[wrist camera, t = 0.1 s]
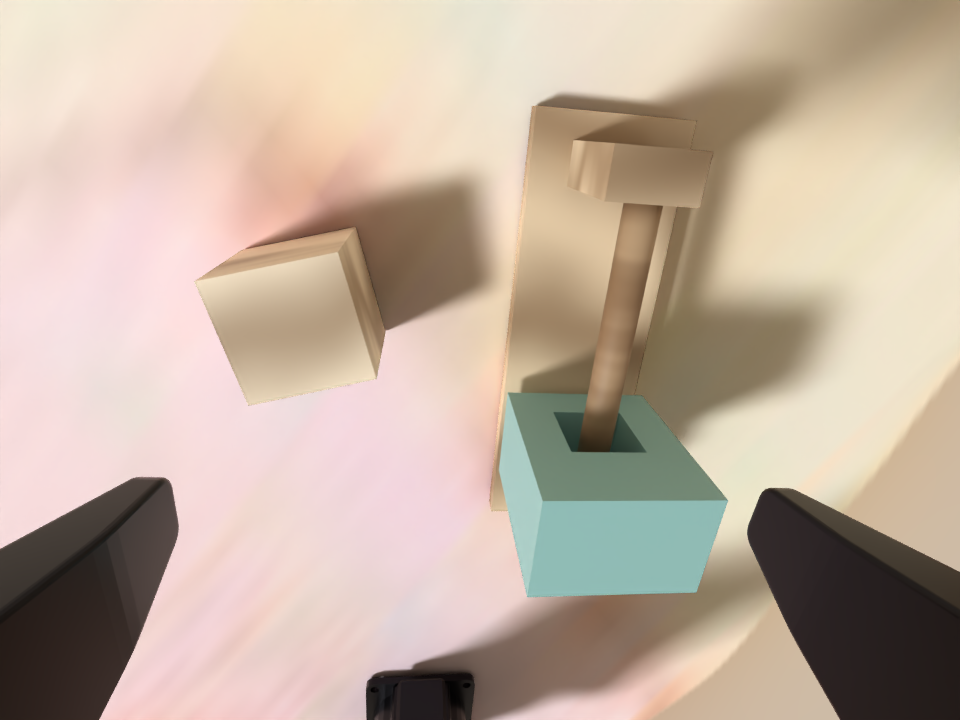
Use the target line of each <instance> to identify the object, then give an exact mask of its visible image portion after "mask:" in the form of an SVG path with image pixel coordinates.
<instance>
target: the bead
mask: <svg viewBox="0 0 960 720" xmlns="http://www.w3.org/2000/svg"><path fill="white" fill-rule="evenodd" d="M587 396H588V394H556V393H513V392H508V394H507V403H506V412H505V421H504V429H503V438H502V447H501V456H500V464H499V473H500V477H501V482H502V486H503V491H504V495H505V500H506V504H507V508H508V513H509V517H510V522H511V526H512V531H513V535H514V540H515V544H516V549H517V553H518V558H519V562H520V567H521V571H522V576H523V580H524V585H525V589H526V594H527V597H551V596H587V595H623V594H659V593H695V592H697V589H698V586H699V583H700V580H701V578H702V575H703V572H704V569H705V566H706V563H707V560H708V557H709V554H710V551H711V549H712V546H713V543H714V540H715V537H716V534H717V531H718V528H719V525H720V522H721V520H722V517H723V514H724V511H725V508H726V505H727V502H728V500H727V499H726V497H725V496H724V495H723V494H722V492H721V491H720V490H719V489H718V488H717V486H716V485H715V484H714V483H713V481H712V480H711V479H710V478H709V477H708V475H707V474H706V473H705V472H704V471H703V469H702V468H701V467H700V466H699V464H698V463H697V462H696V461H695V460H694V458H693V457H692V456H691V455H690V453H689V452H688V451H687V450H686V449H685V447H684V446H683V445H682V444H681V443H680V441H679V440H678V439H677V438H676V436H675V435H674V434H673V433H672V432H671V430H670V429H669V428H668V427H667V425H666V424H665V423H664V422H663V421H662V419H661V418H660V417H659V416H658V414H657V413H656V412H655V411H654V410H653V408H652V407H651V406H650V405H649V404H648V402H647V401H646V400H645V399H644V397H643V396H642V395H622V398H621V402H620V407H619V412H618V416H617V421H616V425H615V430H614V435H613V439H612V444H611V448H610V452H577V450H578V444H579V439H580V434H581V428H582V423H583V418H584V412H585V407H586V402H587Z"/></svg>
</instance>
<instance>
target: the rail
mask: <svg viewBox="0 0 960 720" xmlns="http://www.w3.org/2000/svg"><path fill="white" fill-rule="evenodd" d="M696 123H697V121H694V120H684V119H673V118H663V117H652V116H642V115H631V114H621V113H610V112H600V111H589V110H579V109H568V108H558V107H547V106H537V105H536V106H532V111H531V120H530V130H529V139H528V148H527V157H526V167H525V176H524V185H523V194H522V204H521V213H520V222H519V231H518V241H517V250H516V259H515V268H514V277H513V287H512V296H511V305H510V314H509V324H508V333H507V342H506V351H505V361H504V370H503V379H502V388H501V398H500V407H499V416H498V425H497V434H496V444H495V453H494V462H493V471H492V481H491V490H490V499H489V501H490V507H491V511H508V508H507V504H506V500H505V495H504V491H503V486H502V482H501V477H500V473H499V464H500V456H501V447H502V438H503V429H504V421H505V412H506V403H507V394H508V392H513V393H556V394H588V396H587V402H586V407H585V412H584V418H583V423H582V428H581V434H580V439H579V444H578V450H577V452H610V448H611V444H612V439H613V435H614V430H615V425H616V421H617V416H618V412H619V407H620V402H621V398H622V395H634V394H635V390H636V386H637V381H638V377H639V372H640V368H641V364H642V359H643V355H644V350H645V346H646V342H647V337H648V333H649V329H650V324H651V320H652V315H653V311H654V307H655V302H656V298H657V293H658V289H659V285H660V280H661V276H662V272H663V267H664V263H665V258H666V254H667V250H668V245H669V241H670V236H671V232H672V228H673V223H674V219H675V215H676V210H677V207H688V208H700V205H701V200H702V196H703V192H704V188H705V184H706V180H707V176H708V172H709V168H710V164H711V160H712V156H713V152H711V151H699V150H690V149H691V144H692V140H693V136H694V131H695V127H696Z"/></svg>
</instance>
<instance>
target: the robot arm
mask: <svg viewBox="0 0 960 720" xmlns="http://www.w3.org/2000/svg"><path fill="white" fill-rule="evenodd" d="M178 530H179V525H178V518H177V512H176V506H175V501H174V495H173V489H172V486H171V483H170V481H169V480H167V479H166V478H163V477H136V478H133V479H130V480H128V481H127V482H125V483H123V484H121V485H119V486H117V487H115V488H113V489H112V490H110V491H108V492H106V493H104V494H102V495H100V496H99V497H97V498H95V499H93V500H91V501H89V502H87V503H85V504H84V505H82V506H80V507H78V508H76V509H74V510H72V511H70V512H69V513H67V514H65V515H63V516H61V517H59V518H57V519H55V520H54V521H52V522H50V523H48V524H46V525H44V526H42V527H40V528H39V529H37V530H35V531H33V532H31V533H29V534H27V535H25V536H24V537H22V538H20V539H18V540H16V541H14V542H12V543H10V544H9V545H7V546H5V547H3V548H1V549H0V720H99V719H100V717H101V715H102V713H103V711H104V709H105V707H106V705H107V703H108V701H109V699H110V697H111V695H112V693H113V691H114V689H115V687H116V685H117V683H118V681H119V680H120V678H121V676H122V674H123V672H124V670H125V668H126V666H127V663H128V661H129V659H130V657H131V655H132V653H133V651H134V649H135V646H136V644H137V641H138V639H139V637H140V634H141V632H142V629H143V627H144V624H145V621H146V619H147V616H148V614H149V611H150V608H151V606H152V603H153V601H154V598H155V595H156V593H157V590H158V588H159V585H160V582H161V580H162V577H163V575H164V572H165V569H166V567H167V564H168V562H169V559H170V556H171V554H172V551H173V549H174V546H175V543H176V540H177V536H178ZM747 535H748V540H749V543H750V546H751V548H752V550H753V552H754V554H755V557H756V559H757V561H758V563H759V565H760V567H761V570H762V572H763V574H764V576H765V578H766V580H767V583H768V585H769V587H770V589H771V591H772V593H773V596H774V598H775V600H776V602H777V604H778V607H779V609H780V611H781V613H782V615H783V617H784V619H785V622H786V623H787V626H788V628H789V629H790V632H791V634H792V636H793V637H794V639H795V641H796V643H797V645H798V647H799V648H800V650H801V652H802V654H803V656H804V657H805V659H806V661H807V663H808V664H809V666H810V668H811V670H812V671H813V673H814V675H815V677H816V678H817V680H818V682H819V683H820V685H821V687H822V689H823V691H824V692H825V694H826V696H827V698H828V699H829V701H830V703H831V705H832V706H833V708H834V710H835V712H836V713H837V715H838V717H839V719H840V720H960V572H959V571H957V570H954V569H953V568H951V567H949V566H947V565H945V564H943V563H940V562H939V561H937V560H935V559H933V558H931V557H929V556H926V555H925V554H923V553H920V552H919V551H916V550H915V549H913V548H911V547H908V546H907V545H904V544H903V543H901V542H898V541H897V540H894V539H892V538H890V537H888V536H886V535H884V534H882V533H880V532H878V531H876V530H874V529H872V528H870V527H868V526H866V525H864V524H862V523H860V522H858V521H856V520H854V519H852V518H850V517H848V516H846V515H844V514H842V513H840V512H838V511H836V510H834V509H832V508H830V507H828V506H826V505H824V504H822V503H820V502H818V501H816V500H814V499H812V498H810V497H808V496H806V495H804V494H802V493H800V492H798V491H796V490H794V489H790V488H768V489H765V490H764V491H763V492H762V493H761V495H760V497H759V500H758V502H757V505H756V507H755V510H754V512H753V515H752V517H751V520H750V522H749V525H748V530H747ZM474 686H475V683H474V676H473V675H471V674H448V675H426V676H404V677H383V678H372V679H370V680H368V681H367V686H366V713H367V720H471V713H472V704H473V695H474Z"/></svg>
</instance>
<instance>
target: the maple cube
mask: <svg viewBox="0 0 960 720" xmlns="http://www.w3.org/2000/svg"><path fill="white" fill-rule="evenodd" d="M194 282H195V284H196V287H197V289H198V291H199V293H200V296H201V298H202V300H203V303H204V305H205V307H206V310H207V312H208V314H209V316H210V319H211V321H212V323H213V326H214V328H215V330H216V332H217V335H218V337H219V339H220V342H221V344H222V346H223V348H224V351H225V353H226V355H227V358H228V360H229V362H230V364H231V367H232V369H233V371H234V374H235V376H236V378H237V380H238V383H239V385H240V387H241V390H242V392H243V394H244V396H245V399H246V401H247V403H248V406H250V405H255V404H260V403H264V402H269V401H274V400H279V399H283V398H288V397H293V396H298V395H303V394H307V393H312V392H317V391H322V390H326V389H331V388H336V387H341V386H346V385H350V384H355V383H360V382H365V381H369V380H374V379H377V374H378V368H379V363H380V358H381V353H382V348H383V342H384V337H385V329H384V325H383V322H382V318H381V315H380V311H379V308H378V304H377V301H376V297H375V294H374V290H373V286H372V283H371V279H370V276H369V272H368V269H367V265H366V262H365V258H364V255H363V251H362V248H361V244H360V241H359V237H358V234H357V230H356V227H352V228H347V229H342V230H338V231H333V232H328V233H323V234H318V235H313V236H308V237H303V238H298V239H294V240H289V241H284V242H279V243H274V244H269V245H264V246H259V247H255V248H250V249H245V250H241V251H240V252H238V253H237V254H235V255H234V256H232V257H231V258H229V259H228V260H226V261H225V262H223V263H222V264H220V265H219V266H217V267H216V268H214V269H212V270H211V271H209V272H208V273H206V274H205V275H203V276H202V277H200V278H199V279H197V280H196V281H194Z"/></svg>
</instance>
